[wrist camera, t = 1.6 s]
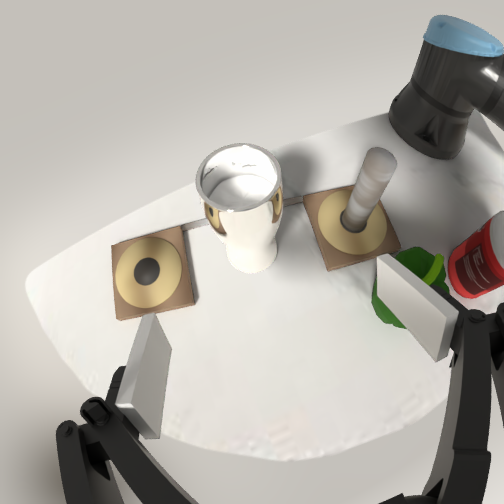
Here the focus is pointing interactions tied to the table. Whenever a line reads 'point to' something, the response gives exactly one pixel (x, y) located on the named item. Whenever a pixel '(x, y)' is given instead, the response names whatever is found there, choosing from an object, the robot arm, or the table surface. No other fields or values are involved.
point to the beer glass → (243, 203)
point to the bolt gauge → (317, 205)
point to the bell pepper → (423, 268)
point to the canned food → (479, 260)
